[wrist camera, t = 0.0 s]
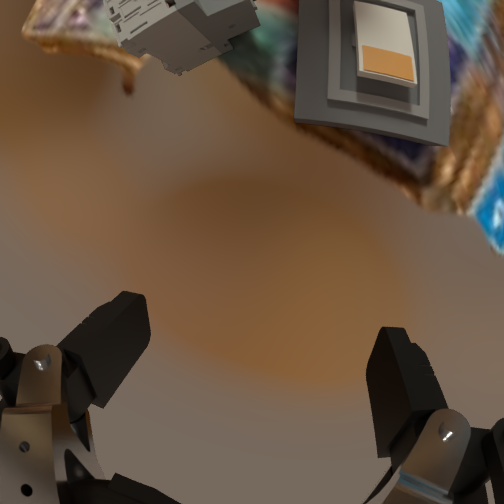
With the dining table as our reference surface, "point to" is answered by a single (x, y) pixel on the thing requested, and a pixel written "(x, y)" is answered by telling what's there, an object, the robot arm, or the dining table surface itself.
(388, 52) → the breaker rocker
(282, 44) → the dining table surface
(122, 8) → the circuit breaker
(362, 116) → the box
